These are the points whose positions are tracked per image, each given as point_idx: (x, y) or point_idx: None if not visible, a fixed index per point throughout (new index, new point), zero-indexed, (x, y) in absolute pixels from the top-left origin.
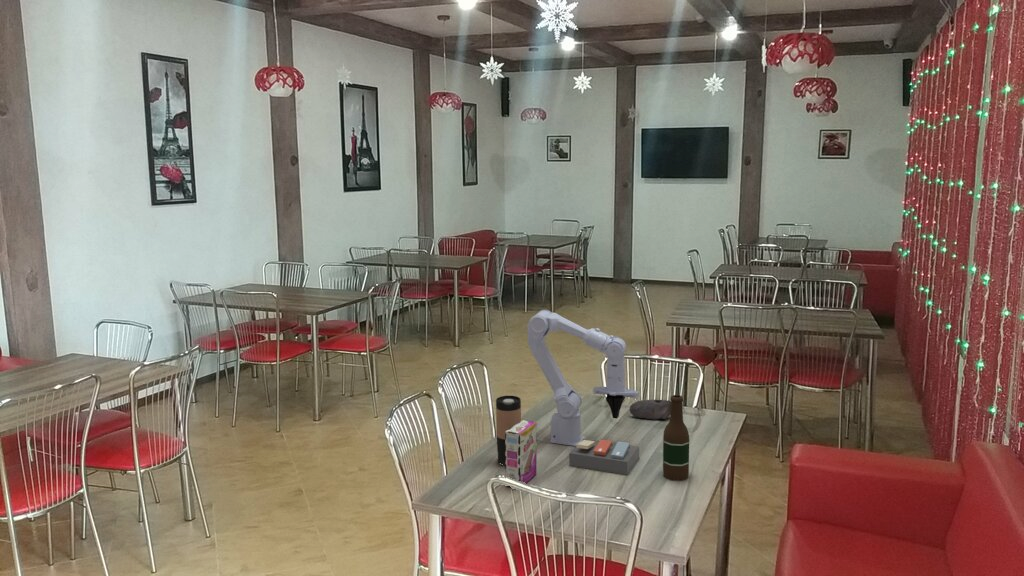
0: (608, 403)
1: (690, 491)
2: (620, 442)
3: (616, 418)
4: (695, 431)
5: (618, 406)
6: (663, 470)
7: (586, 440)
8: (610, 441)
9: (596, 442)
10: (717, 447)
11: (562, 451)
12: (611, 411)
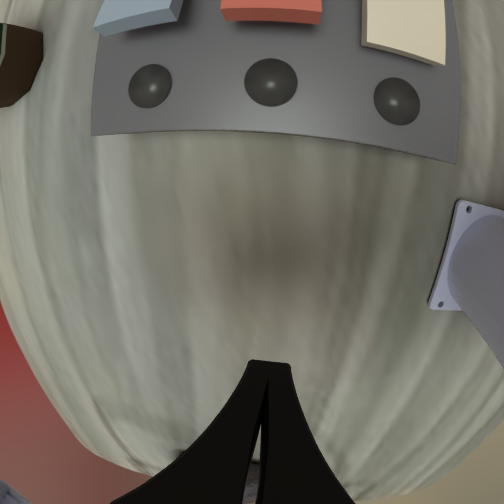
0: (342, 494)
1: (4, 11)
2: (149, 5)
3: (252, 359)
4: (91, 400)
5: (185, 456)
6: (27, 28)
7: (428, 51)
8: (231, 1)
9: (368, 105)
10: (12, 312)
11: (494, 132)
12: (300, 411)
